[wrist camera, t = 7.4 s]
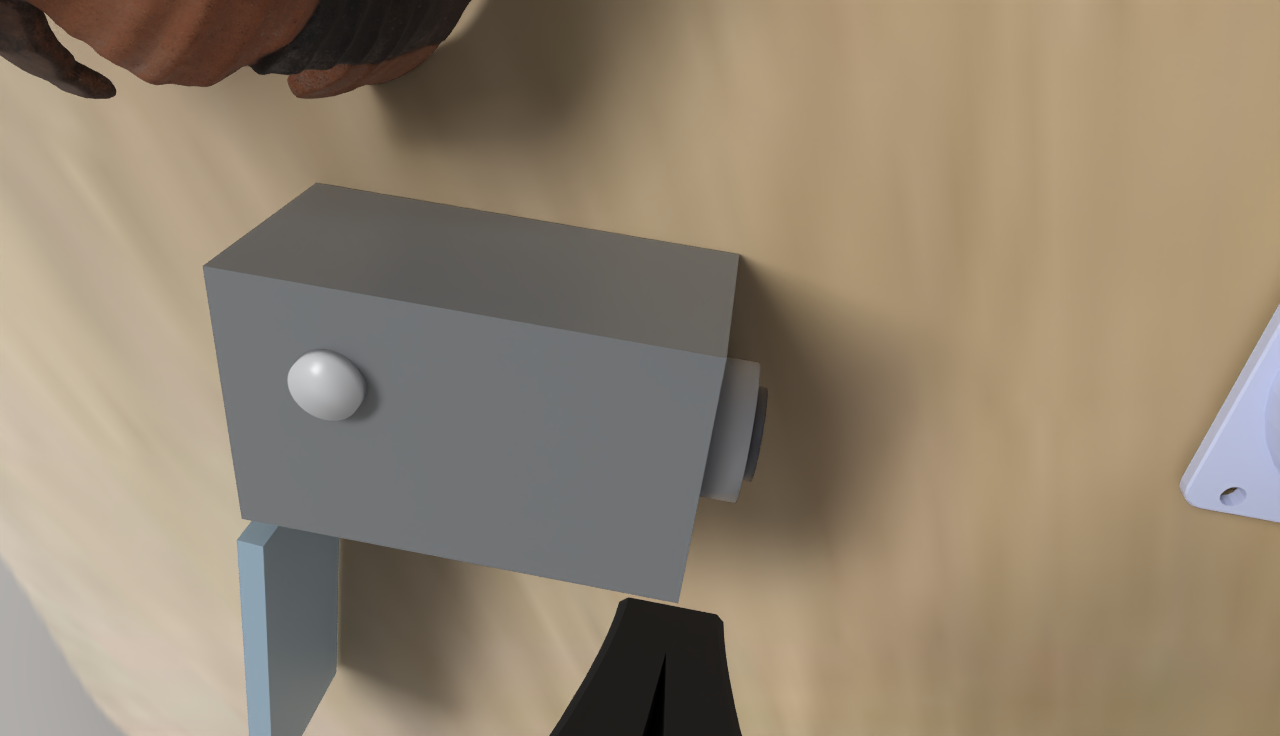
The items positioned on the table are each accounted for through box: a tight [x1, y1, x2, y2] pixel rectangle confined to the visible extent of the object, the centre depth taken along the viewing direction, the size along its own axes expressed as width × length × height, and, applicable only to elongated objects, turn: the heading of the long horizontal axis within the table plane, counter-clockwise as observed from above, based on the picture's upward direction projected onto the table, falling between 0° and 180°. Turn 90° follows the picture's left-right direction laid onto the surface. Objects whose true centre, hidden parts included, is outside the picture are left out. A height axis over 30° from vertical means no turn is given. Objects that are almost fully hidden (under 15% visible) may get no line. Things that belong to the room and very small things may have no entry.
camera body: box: [203, 183, 768, 603], centre depth 19 cm, size 11×6×5 cm, turn 83°
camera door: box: [237, 521, 339, 736], centre depth 24 cm, size 9×1×4 cm, turn 169°
